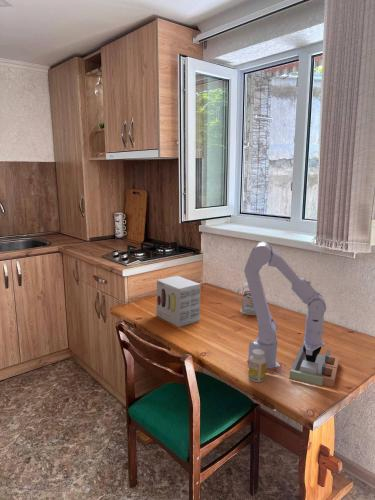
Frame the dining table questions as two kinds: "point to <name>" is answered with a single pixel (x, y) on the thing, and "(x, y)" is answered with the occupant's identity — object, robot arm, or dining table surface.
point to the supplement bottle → (257, 365)
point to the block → (309, 367)
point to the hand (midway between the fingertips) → (310, 365)
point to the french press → (247, 308)
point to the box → (322, 369)
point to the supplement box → (178, 300)
